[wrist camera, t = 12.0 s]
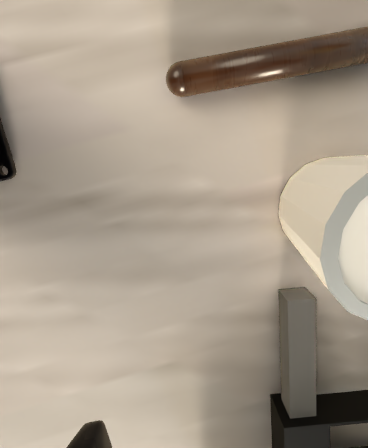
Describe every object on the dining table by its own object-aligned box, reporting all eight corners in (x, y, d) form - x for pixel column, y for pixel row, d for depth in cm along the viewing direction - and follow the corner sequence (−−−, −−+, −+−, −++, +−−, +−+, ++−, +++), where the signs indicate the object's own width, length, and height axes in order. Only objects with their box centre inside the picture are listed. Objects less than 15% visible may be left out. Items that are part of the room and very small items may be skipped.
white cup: (409, 193, 19) (543, 225, 12) (329, 282, 20) (409, 356, 13) (322, 119, 17) (417, 108, 11) (243, 219, 19) (283, 266, 12)
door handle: (185, 317, 18) (206, 545, 21) (546, 283, 18) (510, 513, 21) (183, 292, 21) (201, 493, 24) (489, 263, 21) (465, 466, 24)
